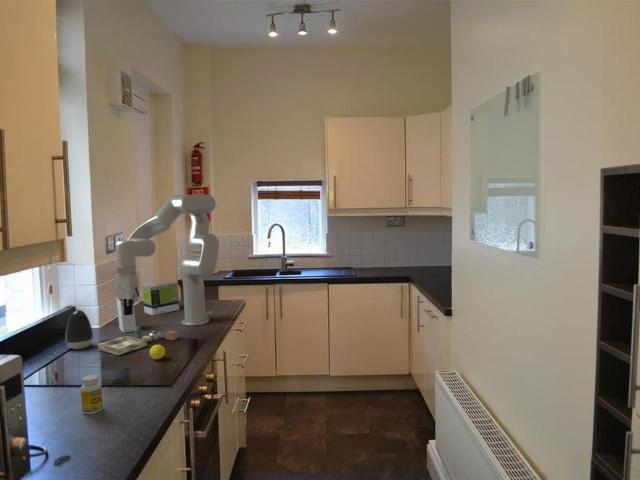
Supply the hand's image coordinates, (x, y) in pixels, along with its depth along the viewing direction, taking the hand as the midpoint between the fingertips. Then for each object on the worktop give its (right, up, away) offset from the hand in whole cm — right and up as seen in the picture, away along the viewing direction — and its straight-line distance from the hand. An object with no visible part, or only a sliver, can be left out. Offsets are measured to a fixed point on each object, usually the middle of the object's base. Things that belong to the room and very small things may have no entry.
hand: (128, 314), depth 207 cm
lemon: (+19, -13, -22) cm, 32 cm away
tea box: (-4, -7, +55) cm, 56 cm away
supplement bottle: (+15, -17, -66) cm, 70 cm away
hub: (+9, -11, +5) cm, 15 cm away
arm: (+2, -12, -6) cm, 13 cm away
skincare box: (-8, -10, +20) cm, 24 cm away
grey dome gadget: (-17, -13, -5) cm, 22 cm away
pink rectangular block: (+17, -11, +4) cm, 20 cm away
